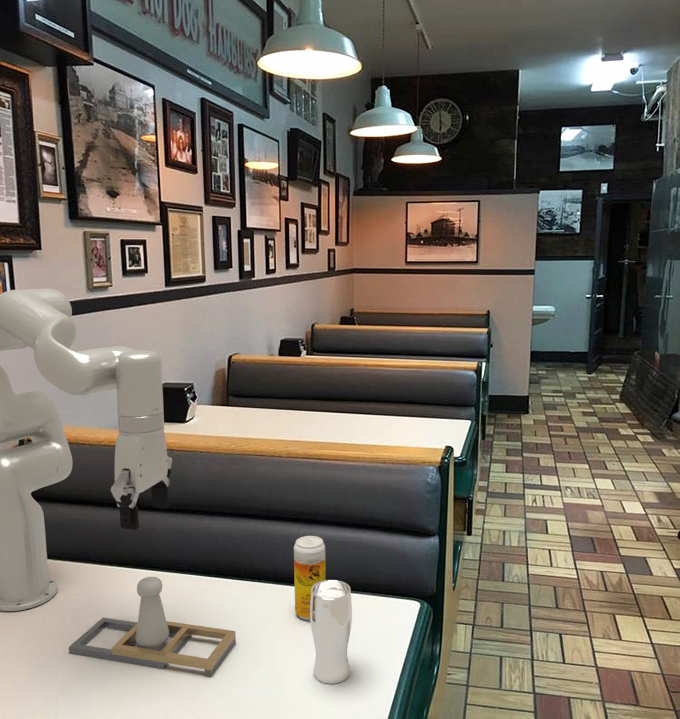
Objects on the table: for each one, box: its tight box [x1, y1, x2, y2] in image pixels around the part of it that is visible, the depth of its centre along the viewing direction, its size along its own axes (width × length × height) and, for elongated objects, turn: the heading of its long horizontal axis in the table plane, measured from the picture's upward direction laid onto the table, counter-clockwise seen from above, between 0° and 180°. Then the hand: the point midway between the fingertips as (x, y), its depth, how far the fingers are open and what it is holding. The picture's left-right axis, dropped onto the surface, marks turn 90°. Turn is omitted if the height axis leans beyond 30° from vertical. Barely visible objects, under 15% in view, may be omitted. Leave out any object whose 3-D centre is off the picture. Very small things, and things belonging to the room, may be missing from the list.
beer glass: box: [309, 579, 353, 685], centre depth 107 cm, size 7×7×15 cm
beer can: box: [293, 535, 327, 621], centre depth 126 cm, size 6×6×15 cm
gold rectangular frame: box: [111, 620, 237, 678], centre depth 114 cm, size 19×10×2 cm, turn 75°
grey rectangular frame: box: [68, 617, 193, 670], centre depth 117 cm, size 19×10×1 cm, turn 75°
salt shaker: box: [135, 576, 170, 651], centre depth 115 cm, size 6×6×13 cm
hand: (145, 517), depth 113 cm, fingers open, 9 cm apart
